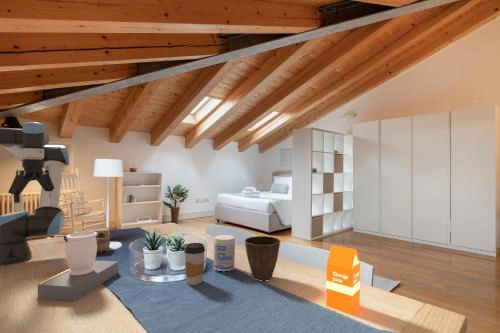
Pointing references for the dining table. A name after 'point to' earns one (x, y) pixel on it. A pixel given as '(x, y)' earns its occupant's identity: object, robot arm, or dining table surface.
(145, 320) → the dining table surface
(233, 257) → the supplement tub
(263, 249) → the plant pot
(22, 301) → the dining table surface
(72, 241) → the jar
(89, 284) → the dock
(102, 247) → the wicker basket
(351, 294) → the orange juice
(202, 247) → the coffee cup
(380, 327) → the dining table surface
